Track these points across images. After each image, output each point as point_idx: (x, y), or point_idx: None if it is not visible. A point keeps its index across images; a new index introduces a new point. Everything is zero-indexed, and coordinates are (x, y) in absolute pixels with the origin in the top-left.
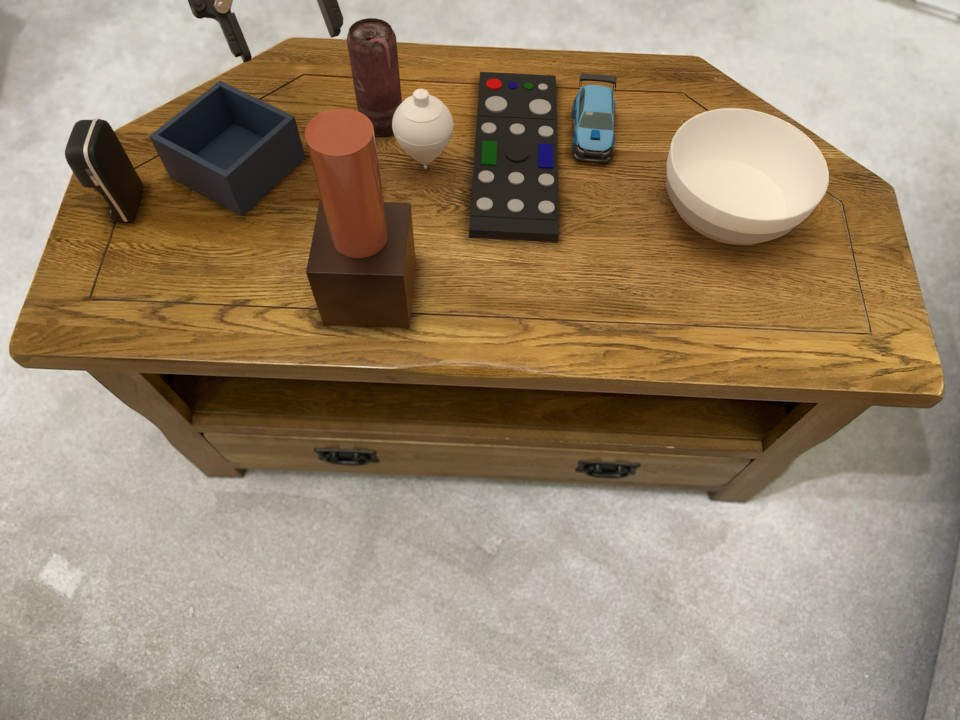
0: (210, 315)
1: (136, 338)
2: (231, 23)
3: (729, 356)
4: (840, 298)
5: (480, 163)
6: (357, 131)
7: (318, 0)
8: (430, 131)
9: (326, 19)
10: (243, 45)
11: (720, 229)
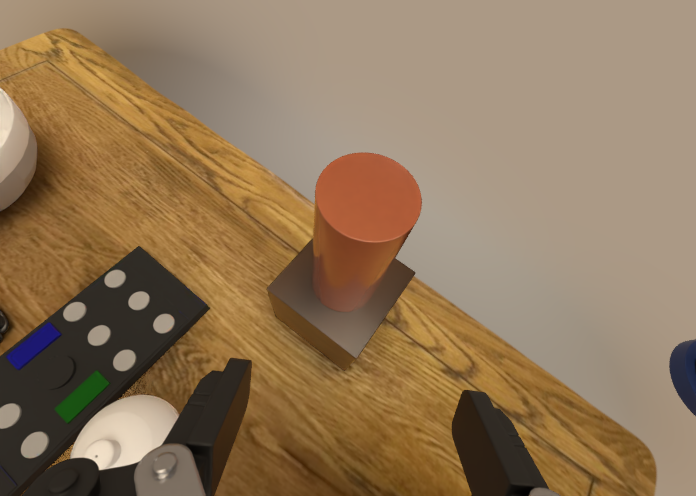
0: (481, 376)
1: (551, 393)
2: (517, 460)
3: (144, 103)
4: (24, 84)
5: (108, 387)
6: (345, 179)
7: (217, 473)
8: (143, 403)
9: (237, 413)
10: (484, 405)
11: (29, 128)
